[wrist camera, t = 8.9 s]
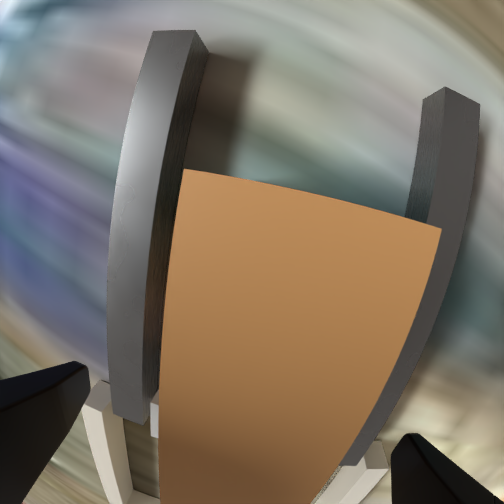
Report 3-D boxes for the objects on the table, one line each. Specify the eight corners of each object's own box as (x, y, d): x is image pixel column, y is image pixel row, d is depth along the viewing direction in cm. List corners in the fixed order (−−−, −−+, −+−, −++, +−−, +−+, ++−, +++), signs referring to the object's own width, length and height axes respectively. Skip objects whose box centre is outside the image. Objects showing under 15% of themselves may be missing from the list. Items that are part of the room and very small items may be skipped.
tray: (380, 440, 12) (389, 468, 10) (306, 531, 14) (305, 551, 13) (100, 379, 13) (79, 401, 11) (120, 490, 15) (111, 507, 13)
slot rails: (455, 113, 8) (480, 104, 7) (351, 439, 12) (356, 465, 10) (171, 50, 9) (153, 31, 7) (128, 391, 12) (112, 413, 11)
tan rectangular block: (379, 211, 10) (517, 256, 3) (312, 411, 12) (320, 550, 5) (209, 173, 10) (79, 156, 3) (179, 382, 12) (112, 508, 5)
